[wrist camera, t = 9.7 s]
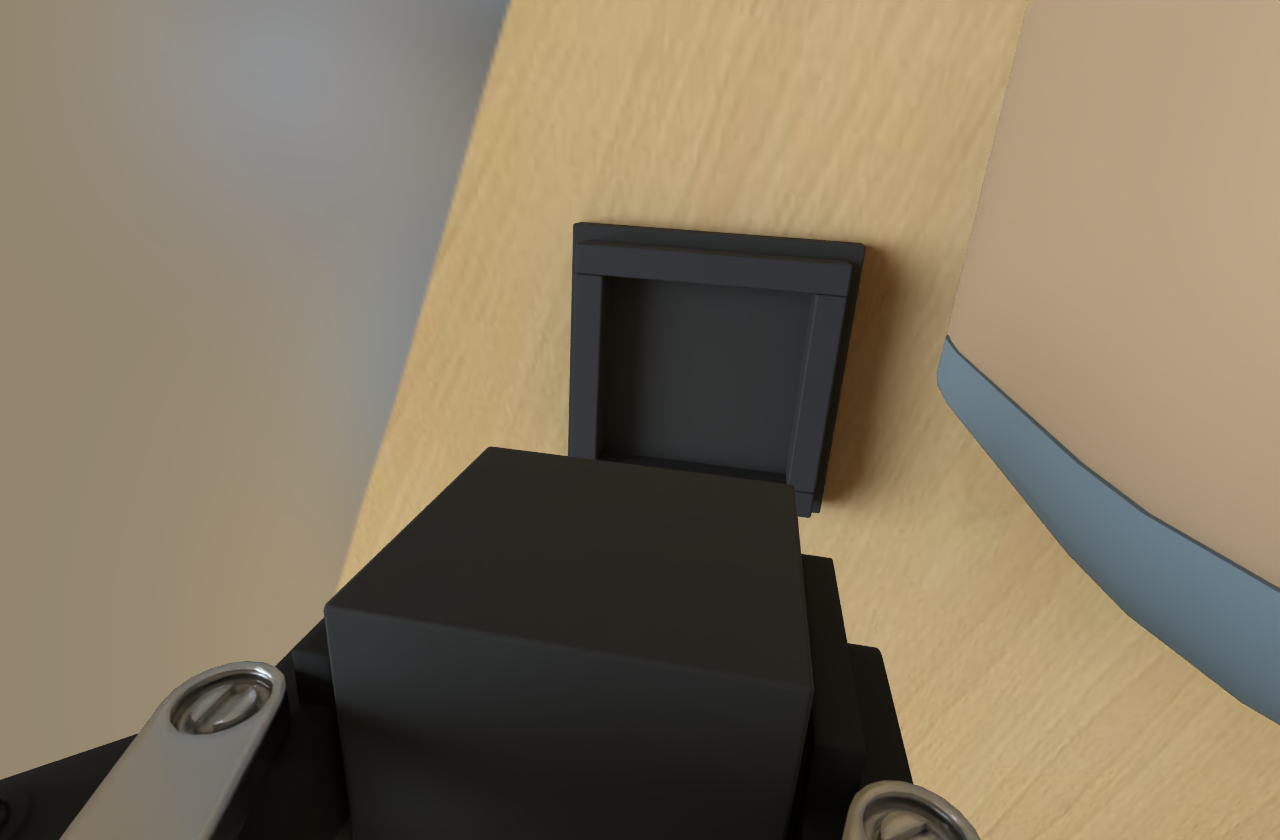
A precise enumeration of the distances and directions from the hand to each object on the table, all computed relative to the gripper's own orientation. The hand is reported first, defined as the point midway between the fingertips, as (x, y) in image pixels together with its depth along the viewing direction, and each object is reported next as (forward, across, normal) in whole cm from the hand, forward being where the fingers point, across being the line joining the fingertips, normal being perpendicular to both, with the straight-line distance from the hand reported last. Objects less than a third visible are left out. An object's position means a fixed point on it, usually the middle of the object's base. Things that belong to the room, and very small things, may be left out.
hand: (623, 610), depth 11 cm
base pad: (+15, 0, 0) cm, 15 cm away
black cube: (0, 0, 0) cm, 0 cm away
